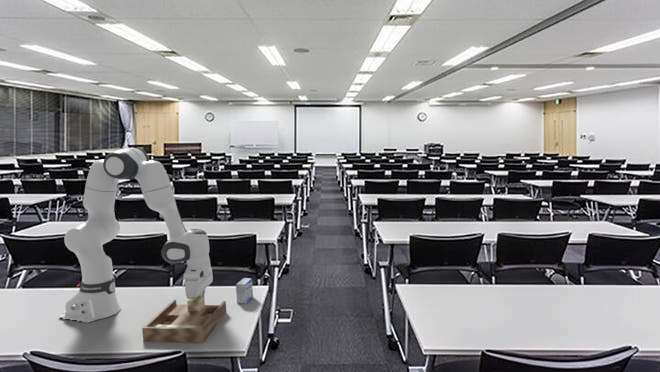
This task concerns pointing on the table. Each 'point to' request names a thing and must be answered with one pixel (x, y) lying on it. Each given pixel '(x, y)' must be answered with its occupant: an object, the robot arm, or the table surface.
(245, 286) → the medicine box
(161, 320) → the box
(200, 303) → the block
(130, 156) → the robot arm
